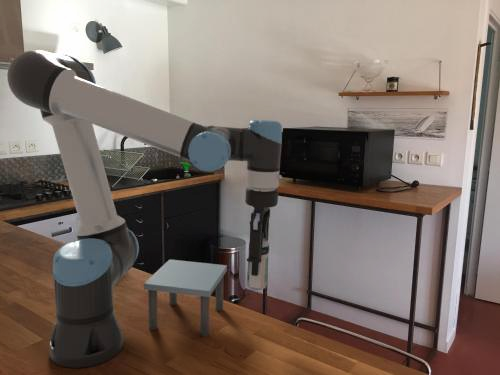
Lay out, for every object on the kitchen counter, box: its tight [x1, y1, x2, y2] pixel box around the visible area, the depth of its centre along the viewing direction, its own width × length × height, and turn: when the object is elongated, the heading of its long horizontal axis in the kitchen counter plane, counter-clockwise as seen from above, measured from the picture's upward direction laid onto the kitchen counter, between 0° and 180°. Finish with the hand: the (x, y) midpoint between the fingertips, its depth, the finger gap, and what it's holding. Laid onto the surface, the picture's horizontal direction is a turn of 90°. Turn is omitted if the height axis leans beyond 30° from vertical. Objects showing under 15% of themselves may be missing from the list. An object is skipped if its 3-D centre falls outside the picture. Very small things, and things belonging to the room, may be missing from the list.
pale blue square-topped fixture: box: [143, 259, 228, 338], centre depth 108 cm, size 16×16×12 cm
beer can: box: [246, 238, 270, 291], centre depth 103 cm, size 5×5×12 cm
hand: (256, 282), depth 104 cm, fingers closed on beer can, 5 cm apart
